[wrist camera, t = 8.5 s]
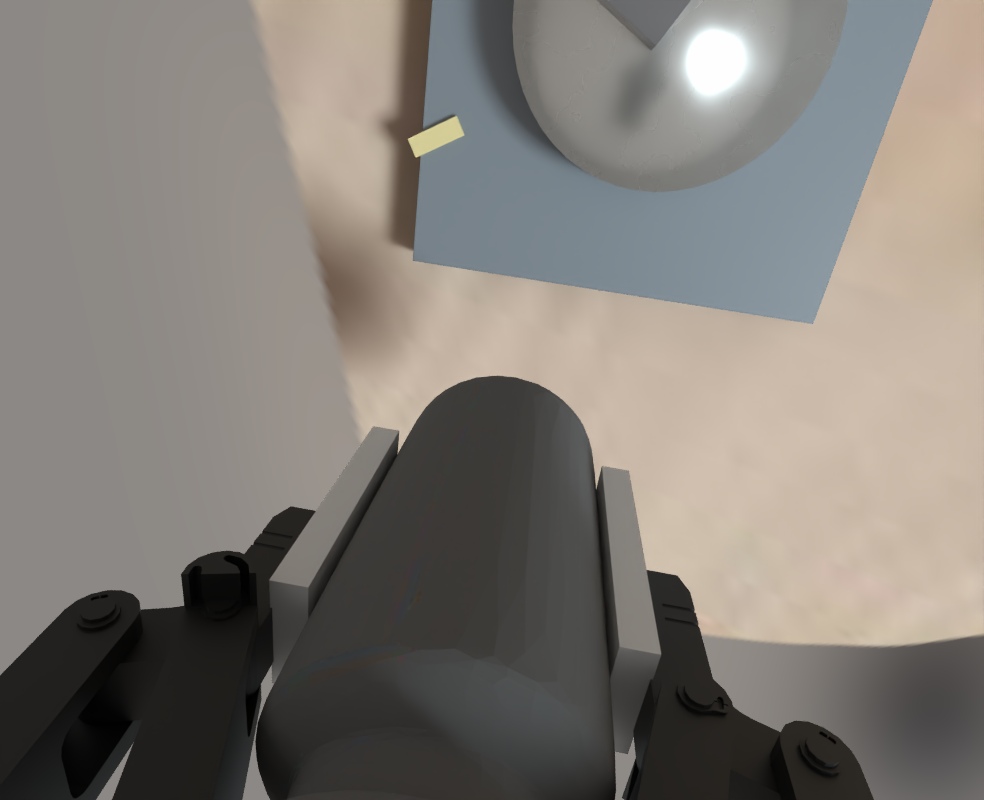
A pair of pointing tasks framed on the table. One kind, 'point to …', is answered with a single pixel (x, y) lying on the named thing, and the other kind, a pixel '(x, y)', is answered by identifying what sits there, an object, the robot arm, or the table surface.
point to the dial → (671, 81)
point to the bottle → (459, 622)
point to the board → (642, 214)
